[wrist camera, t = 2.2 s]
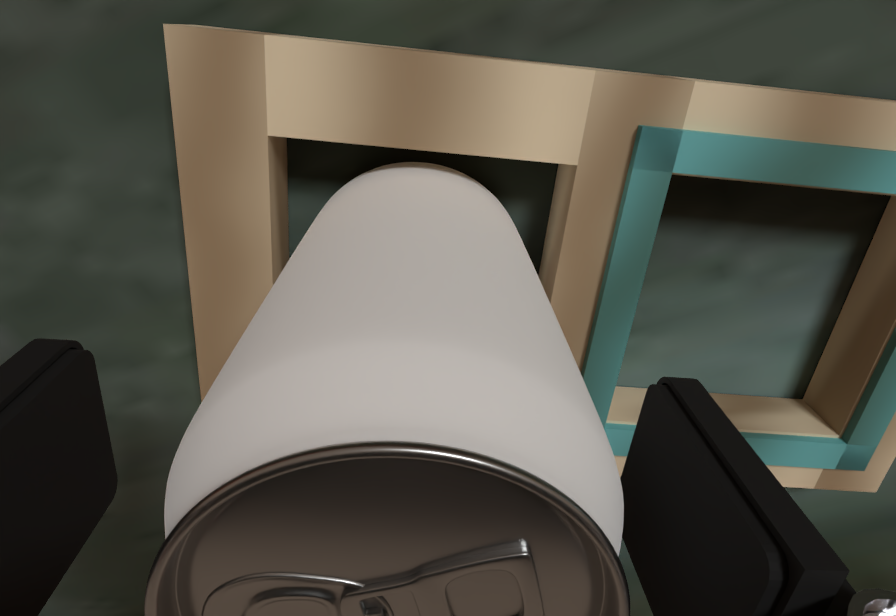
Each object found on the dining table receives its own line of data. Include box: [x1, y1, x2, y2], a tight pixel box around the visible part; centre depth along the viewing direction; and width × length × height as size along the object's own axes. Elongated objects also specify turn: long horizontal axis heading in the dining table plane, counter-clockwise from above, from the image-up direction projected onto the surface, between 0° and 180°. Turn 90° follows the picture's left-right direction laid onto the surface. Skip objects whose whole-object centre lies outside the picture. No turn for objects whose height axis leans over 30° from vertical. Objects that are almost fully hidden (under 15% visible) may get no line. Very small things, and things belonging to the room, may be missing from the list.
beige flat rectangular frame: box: [163, 24, 896, 492], centre depth 17 cm, size 22×12×2 cm, turn 84°
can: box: [144, 162, 630, 616], centre depth 12 cm, size 6×6×12 cm
